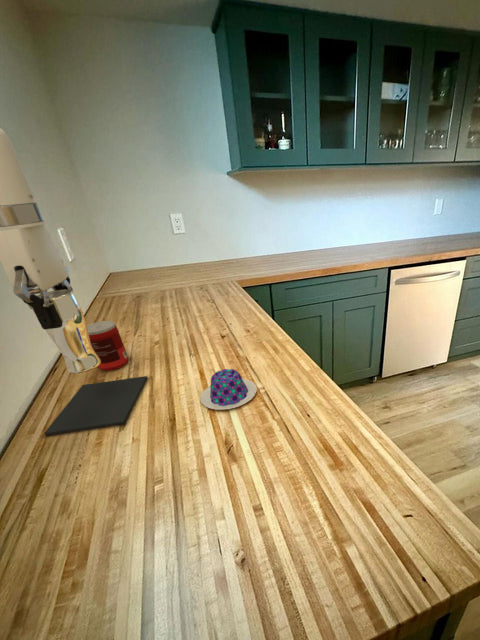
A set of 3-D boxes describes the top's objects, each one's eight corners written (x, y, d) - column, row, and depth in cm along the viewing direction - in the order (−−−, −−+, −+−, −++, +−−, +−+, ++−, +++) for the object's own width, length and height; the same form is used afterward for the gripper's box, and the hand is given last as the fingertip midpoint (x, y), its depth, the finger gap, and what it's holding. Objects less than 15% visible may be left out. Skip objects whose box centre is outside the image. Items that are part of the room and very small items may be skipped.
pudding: (240, 416, 66) (235, 394, 63) (189, 407, 70) (183, 386, 67) (266, 384, 75) (263, 364, 73) (220, 378, 79) (215, 358, 77)
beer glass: (68, 363, 71) (34, 293, 63) (104, 355, 73) (75, 286, 65) (62, 378, 65) (24, 303, 57) (102, 369, 67) (70, 295, 60)
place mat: (45, 436, 65) (43, 433, 65) (84, 387, 81) (82, 384, 80) (124, 424, 67) (123, 421, 66) (147, 378, 82) (146, 375, 82)
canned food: (120, 355, 95) (105, 318, 90) (135, 361, 91) (121, 323, 85) (93, 367, 90) (76, 329, 85) (108, 374, 86) (91, 334, 80)
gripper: (21, 215, 62) (64, 308, 71) (-50, 226, 47) (15, 341, 56) (64, 211, 63) (100, 303, 72) (7, 221, 48) (62, 335, 57)
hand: (62, 319), depth 64 cm, fingers closed on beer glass, 7 cm apart
